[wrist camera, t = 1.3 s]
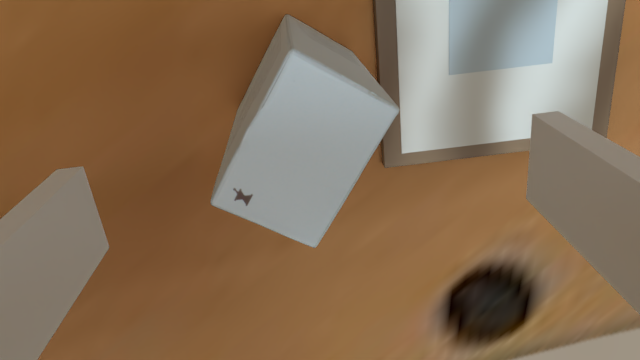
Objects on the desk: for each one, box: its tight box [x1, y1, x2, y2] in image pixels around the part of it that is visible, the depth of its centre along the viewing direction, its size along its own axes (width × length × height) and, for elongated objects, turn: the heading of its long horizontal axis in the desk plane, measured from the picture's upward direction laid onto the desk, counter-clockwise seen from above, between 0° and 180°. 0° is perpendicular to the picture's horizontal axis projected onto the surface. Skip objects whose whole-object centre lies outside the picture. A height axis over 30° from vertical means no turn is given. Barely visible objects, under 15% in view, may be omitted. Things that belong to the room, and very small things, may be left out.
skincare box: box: [211, 14, 399, 248], centre depth 22 cm, size 6×4×12 cm
